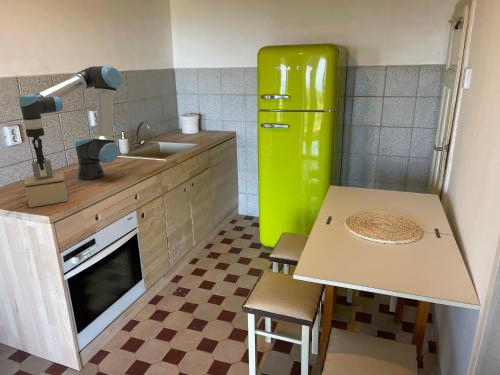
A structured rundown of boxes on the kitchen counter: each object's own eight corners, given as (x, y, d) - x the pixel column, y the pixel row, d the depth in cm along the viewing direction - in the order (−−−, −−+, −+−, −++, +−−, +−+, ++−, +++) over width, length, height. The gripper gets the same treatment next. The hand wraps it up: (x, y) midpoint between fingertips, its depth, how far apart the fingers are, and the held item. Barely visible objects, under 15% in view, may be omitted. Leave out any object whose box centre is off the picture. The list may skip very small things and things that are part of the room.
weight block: (52, 172, 191) (50, 159, 188) (52, 175, 186) (50, 161, 184) (34, 175, 187) (32, 161, 185) (34, 177, 183) (31, 163, 181)
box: (66, 191, 201) (63, 174, 198) (68, 201, 188) (64, 182, 185) (30, 197, 194) (26, 179, 191) (29, 207, 181) (24, 187, 177)
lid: (63, 173, 198) (63, 171, 198) (64, 180, 184) (64, 178, 184) (26, 178, 191) (25, 176, 191) (23, 186, 177) (23, 184, 176)
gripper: (26, 126, 185) (35, 171, 193) (24, 131, 170) (34, 180, 177) (43, 124, 189) (52, 169, 196) (42, 129, 173) (52, 178, 181)
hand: (43, 174), depth 187 cm, fingers closed on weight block, 5 cm apart
